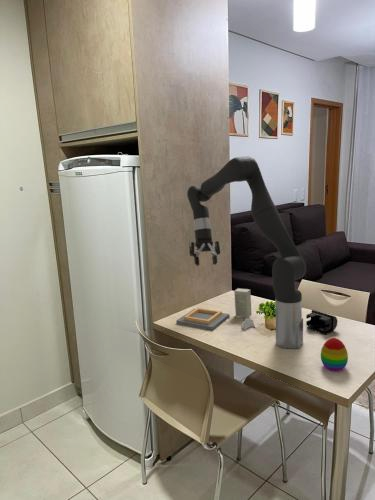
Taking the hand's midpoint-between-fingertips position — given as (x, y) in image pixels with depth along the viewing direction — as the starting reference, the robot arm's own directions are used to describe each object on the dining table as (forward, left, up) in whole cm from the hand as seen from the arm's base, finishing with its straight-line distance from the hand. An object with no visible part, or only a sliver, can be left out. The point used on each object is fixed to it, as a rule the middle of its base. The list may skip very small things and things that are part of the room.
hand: (206, 264), depth 168 cm
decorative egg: (-59, +24, -24) cm, 68 cm away
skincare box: (-15, -6, -24) cm, 29 cm away
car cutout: (-20, +9, -24) cm, 33 cm away
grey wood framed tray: (-1, +6, -24) cm, 25 cm away
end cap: (-49, -5, -24) cm, 55 cm away
